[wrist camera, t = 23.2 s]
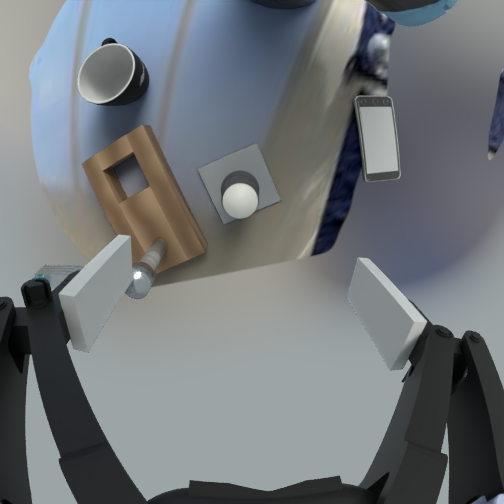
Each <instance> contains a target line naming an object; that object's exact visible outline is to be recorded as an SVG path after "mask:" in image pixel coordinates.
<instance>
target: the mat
mask: <svg viewBox="0 0 504 504" xmlns="http://www.w3.org/2000/svg"><path fill="white" fill-rule="evenodd" d="M239 170H242V171H246V172H249V173H251V174H252V175H253V176H254V177H255V178H256V180H257V182H258V184H259V189H260V190H259V205H258V207H257V209H256V211H257V210H259V209H262V208H264V207H266V206H269V205H271V204H274V203H276V202H278V201H281V200H280V197H279V195H278V192H277V190H276V187H275V185H274V183H273V180H272V178H271V175H270V173H269V171H268V168H267V166H266V164H265V161H264V159H263V157H262V154H261V152H260V150H259V147H258V145H257V143H256V144H253V145H251V146H248V147H246V148H243V149H241V150H239V151H236V152H234V153H232V154H229V155H227V156H225V157H223V158H220V159H218V160H216V161H214V162H212V163H209V164H207V165H205V166H203V167H201V168H199V169H198V171H199V173H200V175H201V178H202V180H203V182H204V184H205V186H206V188H207V190H208V192H209V195H210V197H211V199H212V201H213V203H214V205H215V207H216V209H217V211H218V213H219V216H220V218H221V220H222V222H223V224H226V223H229V222H231V221H233V220H236V219H238V218H234V217H232V216H230V215H229V214H227V213H226V211H225V210H224V209H223V207H222V203H221V197H222V196H221V184H222V182H223V180H224V178H225V177H226V176H227V175H228V174H230V173H231V172H234V171H239Z"/></svg>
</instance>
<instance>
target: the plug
mask: <svg viewBox="0 0 504 504" xmlns="http://www.w3.org/2000/svg"><path fill="white" fill-rule="evenodd" d="M259 190H260V189H259V184H258V182H257V180H256V178H255V177H254V176H253V175H252V174H251V173H249V172H246V171H242V170H239V171H234V172H231V173H230V174H228V175H227V176H226V177H225V178H224V180H223V182H222V184H221V196H222V197H221V203H222V207H223V209H224V210H225V211H226V213H227V214H229V215H230V216H232V217H234V218H246V217H248V216H250V215H252V214H253V213H254V212H255V211H256V209H257V207H258V205H259Z"/></svg>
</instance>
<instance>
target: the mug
mask: <svg viewBox="0 0 504 504" xmlns="http://www.w3.org/2000/svg"><path fill="white" fill-rule="evenodd" d="M148 83H149V75H148V71H147V69H146V67H145V65H144V64H143V62H142V61H141V60H140V58H139V57H138V56H137V55H136V54H135V53H134V52H133V51H132V50H131V49H129V48H128V47H126V46H124V45H122V44H118V43H117V42H116V41H115V40H114V39H113V38H107V39H105V40H104V41H103V42H102V45H101V47H99V48H98V49H96V50H95V51H93V52H92V53H91V54H90V55H89V56H88V57H87V58H86V60H85V61H84V62H83V64H82V66H81V68H80V71H79V74H78V80H77V84H78V90H79V92H80V94H81V96H82V97H83V98H84V99H85V100H86V101H88V102H90V103H93V104H97V105H106V106H118V105H126V104H129V103H132V102H134V101H136V100H138V99H139V98H140V97H141V96H142V95H143V94H144V93H145V91H146V89H147V87H148Z"/></svg>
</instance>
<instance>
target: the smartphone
mask: <svg viewBox="0 0 504 504" xmlns="http://www.w3.org/2000/svg"><path fill="white" fill-rule="evenodd" d="M353 101H354V107H355V113H356V119H357V126H358V133H359V141H360V149H361V158H362V176H363V179H364V181H367V182H378V181H387V180H395V179H399V178H400V175H401V173H400V159H399V148H398V138H397V130H396V122H395V115H394V108H393V102H392V99H391V97H389V96H356V97H355V98H354V100H353Z"/></svg>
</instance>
